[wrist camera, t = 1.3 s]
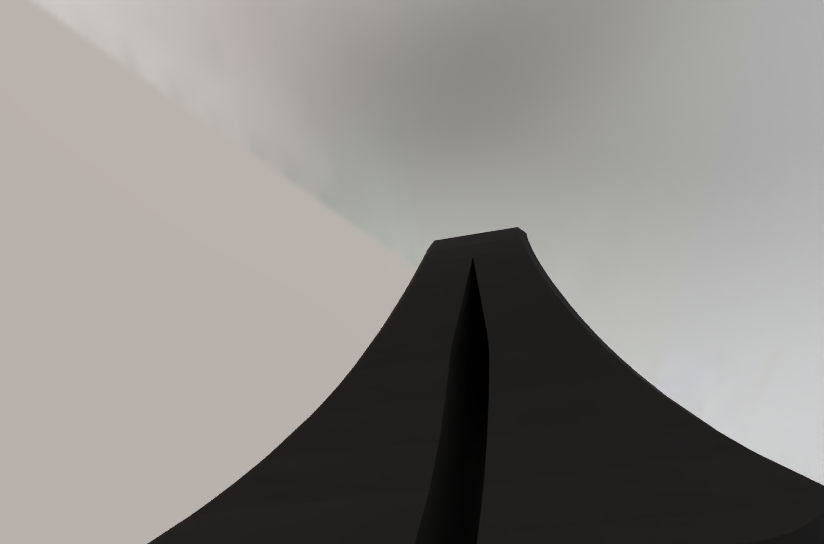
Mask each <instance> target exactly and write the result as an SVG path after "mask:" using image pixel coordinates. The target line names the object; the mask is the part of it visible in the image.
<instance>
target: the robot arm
mask: <svg viewBox="0 0 824 544" xmlns="http://www.w3.org/2000/svg"><path fill="white" fill-rule="evenodd" d="M148 544H824V486H823V485H821V484H819V483H817V482H815V481H813V480H811V479H809V478H807V477H805V476H803V475H801V474H799V473H796V472H794V471H792V470H790V469H788V468H786V467H784V466H782V465H780V464H778V463H776V462H774V461H772V460H769V459H767V458H765V457H763V456H761V455H759V454H757V453H755V452H753V451H751V450H750V449H748V448H746V447H744V446H743V445H741V444H739V443H737V442H736V441H734V440H732V439H730V438H729V437H727V436H725V435H724V434H722V433H720V432H718V431H717V430H715V429H714V428H713V427H711V426H710V425H708V424H707V423H705V422H704V421H702V420H701V419H699V418H698V417H696V416H695V415H693V414H692V413H691V412H689V411H688V410H686V409H685V408H683V407H682V406H680V405H679V404H677V403H676V402H674V401H673V400H671V399H670V398H669V397H667V396H666V395H664V394H663V393H662V392H661V391H659V390H658V389H657V388H656V387H654V386H653V385H652V384H651V383H649V382H648V381H647V380H646V379H644V378H643V377H642V376H641V375H639V374H638V373H637V372H636V371H635V370H634V369H632V368H631V367H630V366H629V365H628V364H627V363H626V362H624V361H623V360H622V359H621V358H620V357H619V356H618V355H617V354H616V353H615V352H614V351H612V350H611V349H610V348H609V347H608V346H607V345H606V344H605V343H604V342H603V341H602V340H601V339H600V338H599V337H598V336H597V335H596V334H595V332H594V331H593V330H592V329H591V328H590V327H589V326H588V325H587V324H586V323H585V322H584V321H583V319H582V318H581V317H580V316H579V315H578V314H577V313H576V311H575V310H574V309H573V308H572V307H571V305H570V304H569V303H568V302H567V300H566V299H565V298H564V296H563V295H562V294H561V293H560V291H559V290H558V289H557V287H556V286H555V285H554V283H553V282H552V281H551V279H550V278H549V276H548V275H547V273H546V272H545V270H544V269H543V267H542V266H541V264H540V262H539V261H538V259H537V257H536V256H535V254H534V252H533V250H532V248H531V246H530V243H529V241H528V238H527V234H526V233H525V232H524V231H523V230H521V229H520V228H518V227H516V228H509V229H503V230H497V231H491V232H485V233H479V234H472V235H466V236H460V237H454V238H448V239H442V240H435V241H434V242H433V243H432V244H431V246H430V247H429V248H428V250H427V252H426V254H425V256H424V258H423V260H422V262H421V263H420V265H419V267H418V269H417V271H416V273H415V275H414V276H413V278H412V280H411V282H410V283H409V285H408V287H407V288H406V290H405V292H404V294H403V295H402V297H401V299H400V300H399V302H398V303H397V305H396V307H395V308H394V310H393V311H392V313H391V315H390V316H389V318H388V319H387V321H386V323H385V324H384V325H383V327H382V328H381V330H380V331H379V333H378V334H377V336H376V337H375V338H374V340H373V341H372V343H371V344H370V345H369V347H368V348H367V349H366V351H365V352H364V353H363V355H362V356H361V358H360V359H359V360H358V362H357V363H356V365H355V366H354V367H353V368H352V370H351V371H350V372H349V373H348V375H347V376H346V377H345V378H344V380H343V381H342V382H341V383H340V385H339V386H338V387H337V388H336V389H335V390H334V391H333V392H332V394H331V395H330V396H329V397H328V398H327V399H326V400H325V401H324V402H323V404H322V405H321V406H320V407H319V408H318V409H317V410H316V411H315V412H314V413H313V414H312V415H311V416H310V417H309V418H308V419H307V420H306V421H304V422H303V423H302V424H301V425H300V426H299V427H298V428H297V429H296V430H295V431H294V432H293V433H292V434H291V435H290V436H288V437H287V438H286V439H285V440H284V441H283V442H282V443H281V444H280V445H279V446H278V447H277V448H276V449H274V450H273V451H272V452H271V453H270V454H269V455H268V456H267V457H266V458H265V459H263V460H262V461H261V462H260V463H259V464H257V465H256V466H255V467H254V468H252V469H251V470H250V471H249V472H248V473H246V474H245V475H244V476H243V477H241V478H240V479H239V480H238V481H237V482H235V483H234V484H233V485H231V486H230V487H229V488H227V489H226V490H225V491H223V492H222V493H221V494H219V495H218V496H217V497H215V498H214V499H213V500H211V501H210V502H209V503H207V504H206V505H205V506H203V507H202V508H200V509H199V510H198V511H196V512H195V513H194V514H192V515H191V516H189V517H188V518H186V519H185V520H183V521H182V522H180V523H178V524H177V525H175V526H174V527H172V528H171V529H169V530H168V531H166V532H165V533H163V534H162V535H160V536H159V537H157V538H156V539H154V540H153V541H151V542H150V543H148Z"/></svg>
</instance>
